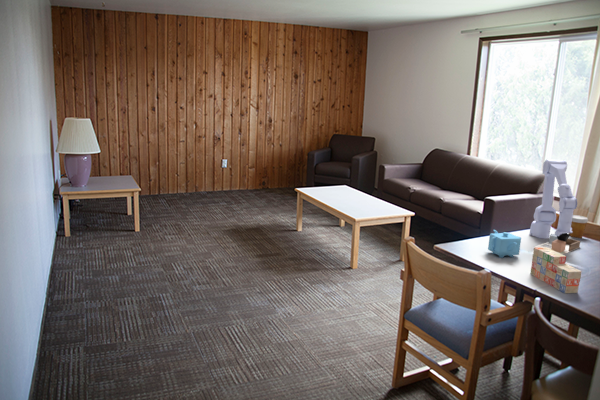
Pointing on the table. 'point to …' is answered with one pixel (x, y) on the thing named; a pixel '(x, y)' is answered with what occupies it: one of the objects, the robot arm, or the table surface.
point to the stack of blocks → (555, 270)
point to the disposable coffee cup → (578, 226)
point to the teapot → (504, 244)
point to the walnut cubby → (572, 244)
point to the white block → (552, 238)
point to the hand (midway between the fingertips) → (560, 247)
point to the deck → (555, 251)
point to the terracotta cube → (558, 245)
